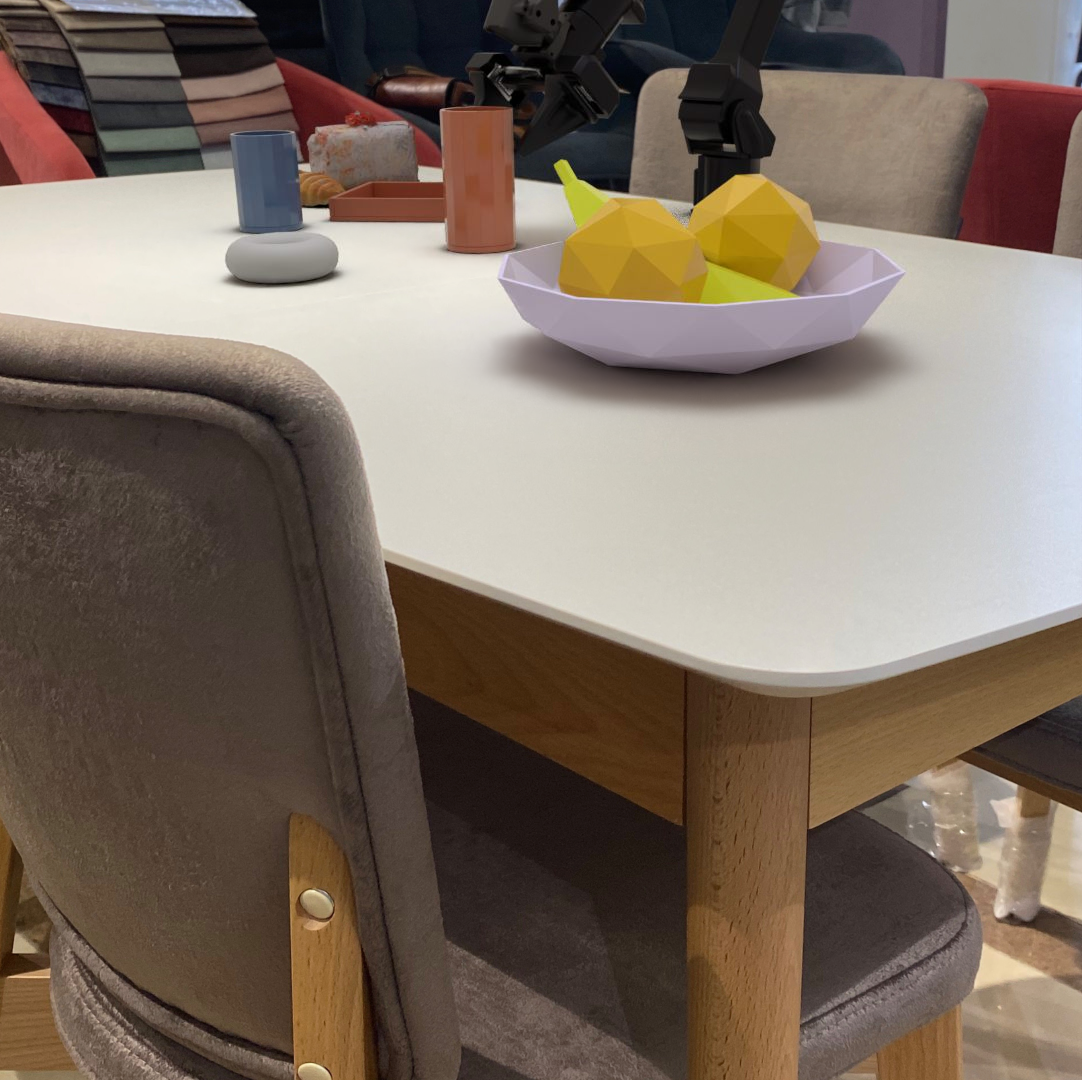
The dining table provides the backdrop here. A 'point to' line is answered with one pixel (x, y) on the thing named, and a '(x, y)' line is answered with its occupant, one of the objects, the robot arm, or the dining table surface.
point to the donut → (282, 257)
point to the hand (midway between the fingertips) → (491, 151)
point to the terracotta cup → (478, 178)
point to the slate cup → (267, 181)
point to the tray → (390, 202)
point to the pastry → (318, 188)
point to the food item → (364, 151)
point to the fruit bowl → (696, 280)
